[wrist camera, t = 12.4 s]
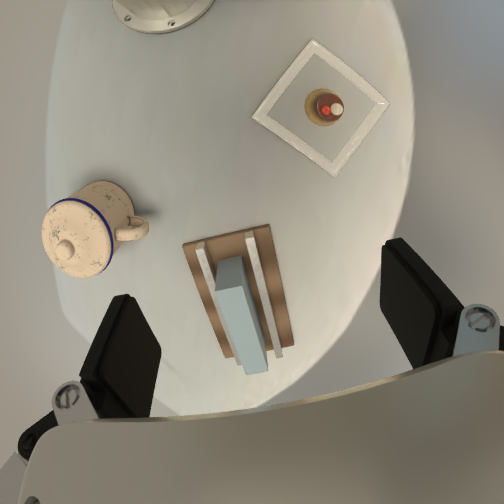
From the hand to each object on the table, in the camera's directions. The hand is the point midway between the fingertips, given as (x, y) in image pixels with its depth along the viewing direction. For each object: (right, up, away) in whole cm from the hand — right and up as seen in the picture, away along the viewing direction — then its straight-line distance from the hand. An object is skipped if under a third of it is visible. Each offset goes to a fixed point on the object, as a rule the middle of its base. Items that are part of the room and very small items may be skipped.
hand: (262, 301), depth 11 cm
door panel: (-2, -5, +31) cm, 31 cm away
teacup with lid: (-18, +7, +25) cm, 32 cm away
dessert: (+8, +19, +21) cm, 29 cm away
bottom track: (-2, -5, +32) cm, 32 cm away
